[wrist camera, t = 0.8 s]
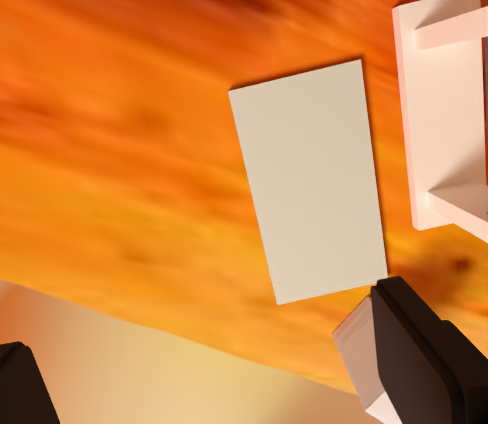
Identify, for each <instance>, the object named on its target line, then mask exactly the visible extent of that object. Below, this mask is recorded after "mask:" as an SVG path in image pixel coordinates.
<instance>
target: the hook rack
mask: <svg viewBox="0 0 488 424" xmlns="http://www.w3.org/2000/svg"><path fill="white" fill-rule="evenodd" d="M392 15H393V25H394V36H395V46H396V56H397V67H398V77H399V87H400V98H401V108H402V118H403V129H404V139H405V149H406V160H407V170H408V180H409V191H410V201H411V211H412V222H413V227H415V228H416V229H417V230H419V231H420V230H424V229H429V228H433V227H437V226H442V225H446V224H451V223H454V224H456V225H458V226H460V227H461V228H463V229H465V230H466V231H468V232H470V233H472V234H473V235H475V236H477V237H478V238H480V239H482V240H483V241H485V242H487V243H488V186H487V185H486V163H485V131H484V100H483V69H482V37H487V36H488V6H487V7H483V8H481V6H480V0H420V1H416V2H412V3H408V4H404V5H400V6H397V7H395V8H393V9H392Z"/></svg>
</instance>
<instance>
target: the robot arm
mask: <svg viewBox="0 0 488 424" xmlns="http://www.w3.org/2000/svg"><path fill="white" fill-rule="evenodd" d="M371 302H372V313H373V324H374V335H375V346H376V357H377V368H378V374H379V378H380V381H381V383H382V386H383V388H384V389H385V391H386V393H387V395H388V397H389V399H390V401H391V403H392V405H393V407H394V409H395V411H396V413H397V415H398V416H399V418H400V420H401V422H402V424H488V359H487V358H486V357H485V356H484V355H483V354H482V353H481V352H480V351H479V350H478V349H477V348H476V347H475V346H474V345H473V344H472V343H471V342H470V341H469V340H468V339H467V338H466V337H465V336H464V335H463V333H462V332H461V331H460V330H459V329H458V328H457V327H456V326H455V325H454V324H453V323H451V322H450V321H448V320H441V319H440V318H439V317H438V316H437V315H436V314H435V313H434V312H433V311H432V310H431V308H430V307H429V306H428V305H427V304H426V303H425V302H424V301H423V300H422V299H421V298H420V297H419V296H418V295H417V294H416V292H415V291H414V290H413V289H412V288H411V287H410V286H409V285H408V284H407V283H406V282H405V281H404V280H403V279H402V278H401V277H400V276H396V277H390V278H384V279H379V280H377V285H376V286H371ZM0 424H60V421H59V419H58V416H57V413H56V411H55V408H54V406H53V403H52V401H51V398H50V396H49V393H48V391H47V389H46V386H45V383H44V381H43V378H42V376H41V373H40V371H39V368H38V366H37V364H36V361H35V358H34V356H33V353H32V351H31V349H30V348H29V347H28V346H25V345H24V344H23V343H22V342H19V341H18V342H12V343H7V344H1V345H0Z"/></svg>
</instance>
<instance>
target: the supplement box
mask: <svg viewBox="0 0 488 424" xmlns="http://www.w3.org/2000/svg"><path fill="white" fill-rule="evenodd" d="M332 337H333V339H334V342H335V344H336V346H337V349H338V351H339V353H340V355H341V358H342V360H343V362H344V365H345V367H346V369H347V371H348V374H349V376H350V378H351V381H352V383H353V385H354V387H355V390H356V392H357V394H358V397H359V399H360V401H361V403H362V406H363V408H364V411H365V412H367V413H369V414H370V415H372V416H373V417H375V418H377V419H378V420H380V421H381V422H383V423H385V424H402V422H401V420H400V418H399V416H398V415H397V413H396V411H395V409H394V407H393V405H392V403H391V401H390V399H389V397H388V395H387V393H386V391H385V389H384V388H383V386H382V383H381V381H380V378H379V374H378V368H377V357H376V346H375V335H374V324H373V313H372V302H371V298H370V297H369V296H367V297H366V298H365V299H364V300H363V301H362V302H361V303H360V304H359V305H358V307H357V308H356V309H355V310H354V311H353V312H352V313H351V314H350V315H349V316H348V317H347V318H346V319H345V320H344V321H343V322H342V323H341V325H340V326H339V327H338V328H337V329H336V330H335V331H334V332H333V334H332Z"/></svg>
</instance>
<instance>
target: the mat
mask: <svg viewBox="0 0 488 424" xmlns="http://www.w3.org/2000/svg"><path fill="white" fill-rule="evenodd" d="M228 94H229V98H230V102H231V107H232V111H233V115H234V120H235V124H236V128H237V133H238V137H239V141H240V146H241V150H242V154H243V159H244V163H245V167H246V172H247V176H248V180H249V185H250V189H251V193H252V198H253V202H254V206H255V211H256V215H257V219H258V224H259V228H260V232H261V237H262V241H263V245H264V250H265V254H266V258H267V263H268V267H269V271H270V276H271V280H272V284H273V289H274V293H275V297H276V302H277V305H280V304H284V303H289V302H293V301H298V300H302V299H307V298H311V297H316V296H320V295H325V294H329V293H334V292H338V291H343V290H347V289H352V288H356V287H361V286H365V285H370V284H374V283H377V280H379V279H384V278H388V274H387V266H386V258H385V250H384V242H383V234H382V226H381V218H380V210H379V202H378V194H377V186H376V178H375V170H374V162H373V154H372V146H371V138H370V129H369V121H368V113H367V105H366V97H365V89H364V81H363V73H362V65H361V59H360V60H356V61H351V62H347V63H343V64H339V65H335V66H331V67H326V68H322V69H318V70H314V71H310V72H306V73H302V74H297V75H293V76H289V77H285V78H281V79H277V80H273V81H268V82H264V83H260V84H256V85H252V86H248V87H244V88H239V89H235V90H231V91H228Z"/></svg>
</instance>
